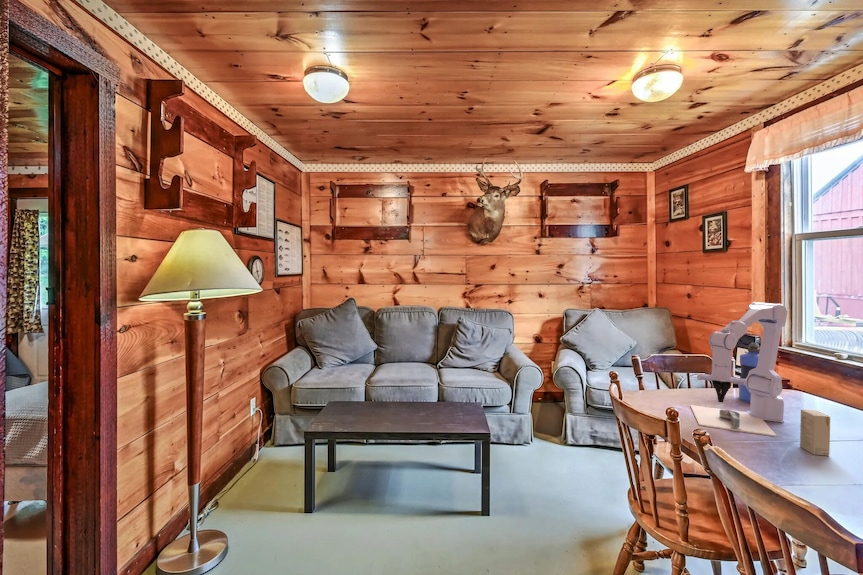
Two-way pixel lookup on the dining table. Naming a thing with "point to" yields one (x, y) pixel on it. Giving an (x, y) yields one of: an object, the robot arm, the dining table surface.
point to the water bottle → (748, 369)
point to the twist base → (746, 423)
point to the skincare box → (815, 432)
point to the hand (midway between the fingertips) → (720, 401)
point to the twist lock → (730, 416)
